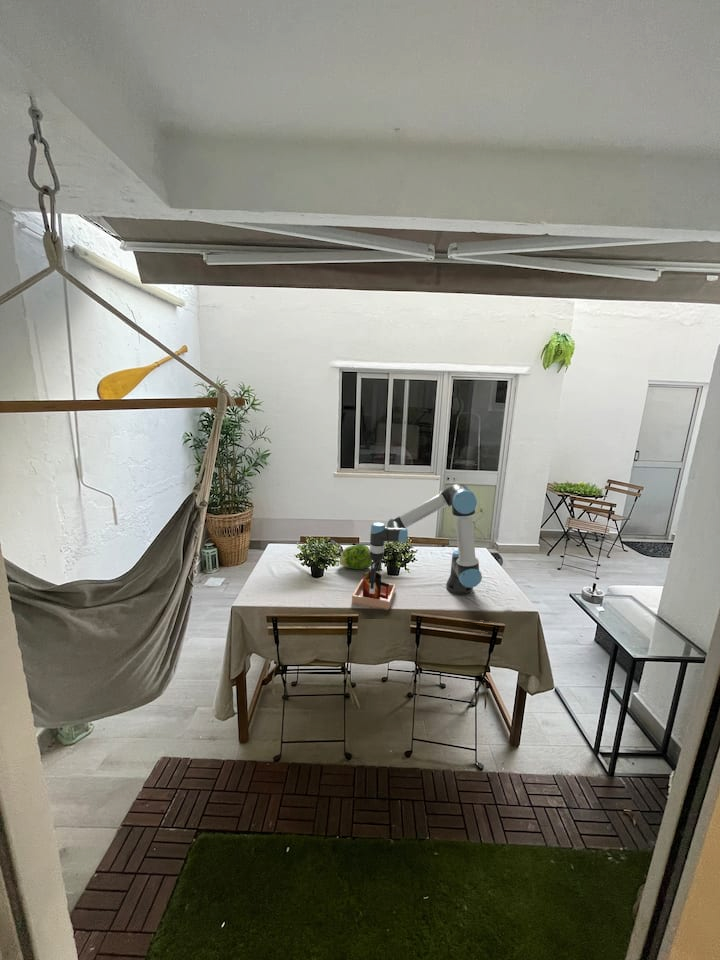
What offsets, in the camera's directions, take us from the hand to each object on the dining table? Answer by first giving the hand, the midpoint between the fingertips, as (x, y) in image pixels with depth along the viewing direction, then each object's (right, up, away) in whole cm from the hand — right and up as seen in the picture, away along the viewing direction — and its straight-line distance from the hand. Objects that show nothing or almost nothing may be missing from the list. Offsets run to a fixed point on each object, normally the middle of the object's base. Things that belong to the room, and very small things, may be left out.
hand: (374, 587), depth 223 cm
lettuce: (-11, +3, +37) cm, 39 cm away
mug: (0, -5, +2) cm, 6 cm away
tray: (0, -6, +1) cm, 6 cm away
